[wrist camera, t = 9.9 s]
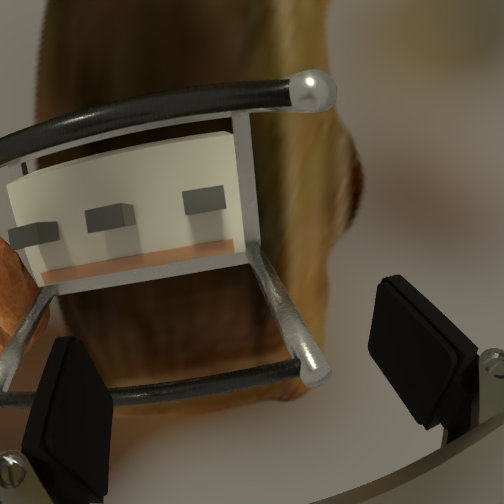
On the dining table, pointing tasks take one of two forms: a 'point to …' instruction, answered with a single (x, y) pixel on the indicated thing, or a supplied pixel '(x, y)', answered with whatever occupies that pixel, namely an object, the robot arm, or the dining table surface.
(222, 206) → the grey matte cuboid
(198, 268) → the frame
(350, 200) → the dining table surface
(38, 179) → the switch box
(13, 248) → the grey rectangular block
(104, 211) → the dark grey rectangular box
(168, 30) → the dining table surface
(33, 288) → the bread
